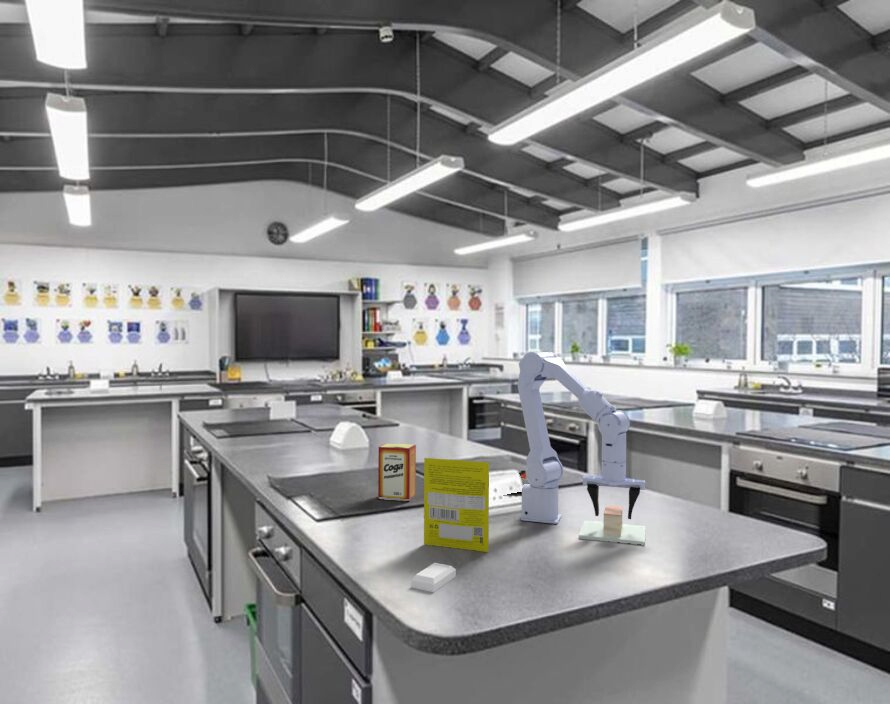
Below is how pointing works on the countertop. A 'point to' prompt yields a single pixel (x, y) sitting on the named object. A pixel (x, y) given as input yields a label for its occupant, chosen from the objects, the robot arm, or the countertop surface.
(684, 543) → the countertop surface
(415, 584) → the soap bar
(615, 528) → the maple block
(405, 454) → the baking soda box
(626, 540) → the mat
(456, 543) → the food package
